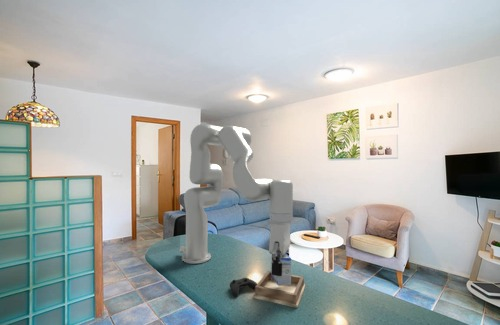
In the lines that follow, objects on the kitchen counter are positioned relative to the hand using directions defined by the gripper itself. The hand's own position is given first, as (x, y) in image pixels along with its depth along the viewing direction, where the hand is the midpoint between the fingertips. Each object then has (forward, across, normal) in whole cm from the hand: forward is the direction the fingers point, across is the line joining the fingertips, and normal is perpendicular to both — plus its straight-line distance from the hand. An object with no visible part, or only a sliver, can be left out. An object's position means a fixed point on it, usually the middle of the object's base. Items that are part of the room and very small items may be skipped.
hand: (280, 269), depth 80 cm
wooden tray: (+7, 0, 0) cm, 7 cm away
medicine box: (+4, 0, 0) cm, 4 cm away
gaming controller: (+8, +4, -12) cm, 15 cm away
